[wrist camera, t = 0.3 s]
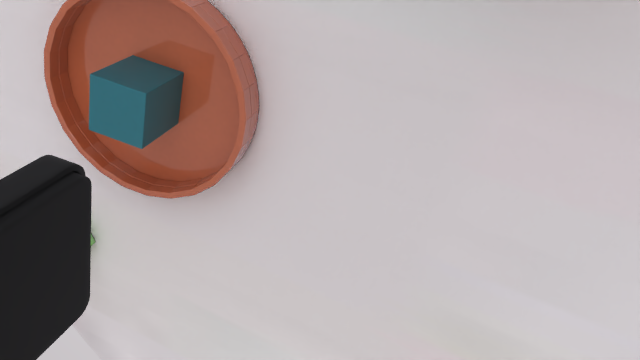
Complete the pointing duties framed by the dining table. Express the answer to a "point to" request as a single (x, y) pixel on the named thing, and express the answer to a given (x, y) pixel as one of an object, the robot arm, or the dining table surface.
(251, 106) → the bowl
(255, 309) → the dining table surface
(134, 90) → the block
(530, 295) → the dining table surface
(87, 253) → the robot arm
